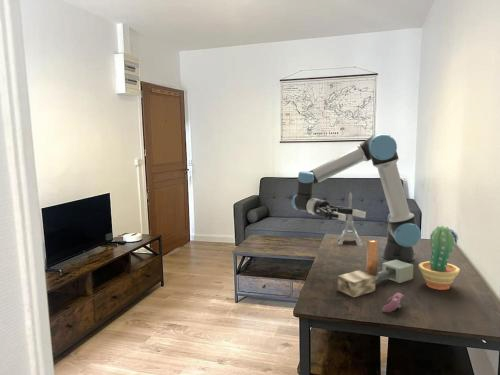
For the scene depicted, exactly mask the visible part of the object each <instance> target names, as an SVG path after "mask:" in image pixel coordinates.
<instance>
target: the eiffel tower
mask: <svg viewBox="0 0 500 375" xmlns="http://www.w3.org/2000/svg"><path fill="white" fill-rule="evenodd" d="M352 199H353V194H352V192H351V191H350V192H349V194H348V208H353V207H352V206H353V200H352ZM345 222H346V225H345V228H344V230H342V233H341V234H340V236H339V237H338V238H337V241H338V242H337V245H338V246H340V245H341V246H343V245H344V244H343V242H344V241H345V240H346V239H347V238H351V239H353V240H355V242H356V246H357V247H359V246H363V245H362V243H361V241H362V239H361V238H360V236H359V235H358V233H357V230H356V228H355V226H354V222H355V221H354V220H353V215H351V214H347V219H346V221H345ZM349 226H351V230H349Z"/></svg>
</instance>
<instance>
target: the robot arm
mask: <svg viewBox="0 0 500 375" xmlns="http://www.w3.org/2000/svg"><path fill="white" fill-rule="evenodd" d="M397 146H398V145H397V142H396V140H395V139H394V137H393V136H391V135H390V134H387V133H376V134H374V135H372V136H370V137H368V138H367V139H365V140H364V141H362V142H361V143H358V144H357V146H356V147H355V148H353V149H351V150H349V151H347V152H345V153H343V154H341V155H340V156H337V157H335V158H333V159H331V160H329V161H327V162H325V163H323V164H321V165H319V166H317V167H314V168H313V169H311V170H308V171H299V172H298V176H297V189H296V190H297V192H296V194H294V195H293V197H292V199H291V202H290V203H291V207H292V208H293V209H295V210H296V211H297V210H298V211H300V212H305V213H309V214H311V215H312V216H314V215H315V216H319V217H323V218H326V219H327V218H328V220H332V219H336V220H338V221H339V220H340V221H344V222H346V221H347V219H346V218H347V215H348V214H351V215H352V217H357V218H362V219H366V214H367V212H366V211H363V210H360V209H359V210H358V209H357V208H356V207H355V206H354V207H352V208H349V207H348V206H347V207H345V206H338V205H331V204H330V202H328V201H327V200H324V199H320V198H316V197H313V191H314V190H313V189H314V186H315V185H317V184H319V183H321V182H322V181H325V180H327V179H329V178H332V177H333V176H335V175H337V174H340V173H341V172H344V171H346V170H348V169H350V168H352V167H354V166H356V165H358V164H361V163H363V162H369V161H371V162H372V166H373V167H375V168H377V171H378V175H379V178H380V182H381V187H382V188H383V193H384V196H385V200H386V204H387V207H388V210H389V214H388V215H387V231H386V242H385V243H386V244H385V246H384V249H383V251H382V257H383V258H384V259H386V260H388V261H392V260H399V261H402V262H406V263H408V262H412V261H414V260H415V252H414V247H413V246H416V245H417V244H418V243H419V242H420V240H421V239H422V238H421V237H422V231H421V229H420V227H419V226H418V224H417V219H416V217H415V214H414V213H413V212H411V210H410V208H409V205H408V204H409V203H408V201H407V197H406V193H405V190H404V186H403V183H402V178H401V175H400V172H399V168H398V164H397V162H399V155H398V152H397V148H398V147H397Z"/></svg>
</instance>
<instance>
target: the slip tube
mask: <svg viewBox="0 0 500 375" xmlns="http://www.w3.org/2000/svg"><path fill="white" fill-rule="evenodd" d="M378 263H379V240H376V239H375V240H374V239H368V240H367V241H366V271H365V273H368V274H370V275H373V276H375V283H379V282H382V281H385V280H389V279H388V278H389V277H390V274H389V272H388V271H386V270H385V271H382V270H381V271H378V270H379V268H378V266H379V264H378ZM346 286H347V288H348V289H349V290H350V283H349V282H346Z"/></svg>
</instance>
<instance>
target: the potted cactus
mask: <svg viewBox="0 0 500 375" xmlns="http://www.w3.org/2000/svg"><path fill="white" fill-rule="evenodd" d="M458 237H459V236H458V234H457V233H456V231H455V230H454V229H450V228H449V227H448V226H443V225H441V226H439V225H438V226H437V227H435V228H434V230H432V232H431V234H430V238H429V240H430V241H429V242H430V244H429V245H430V249H431V255H430V261H429V260H427V261H423V262H420V263H419V264H418V269H419V271H421V274H422V275H421V276H422V277H423V278H424V280H425V282H426V283H425V285H426V286H427V287H429V288H430V289H434V290H440V291H443V290H444V291H445V290H446V291H447V290H449V289H450V288H451V284H452V283H454V281H455V278H456V276H458V275H459V274H460V271H461V269H460V268H459V267H458V266H456V265H454V264H451V263H448V262H449V260H450V256H451V254H452V252H453V251H454V248H455V244H458V240H459V238H458Z"/></svg>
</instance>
